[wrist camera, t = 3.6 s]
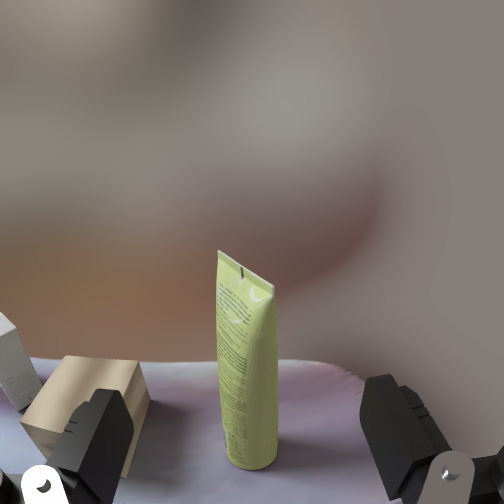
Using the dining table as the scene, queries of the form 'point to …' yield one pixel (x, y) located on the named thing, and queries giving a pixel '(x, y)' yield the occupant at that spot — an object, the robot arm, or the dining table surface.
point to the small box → (16, 367)
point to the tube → (247, 364)
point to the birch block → (84, 398)
